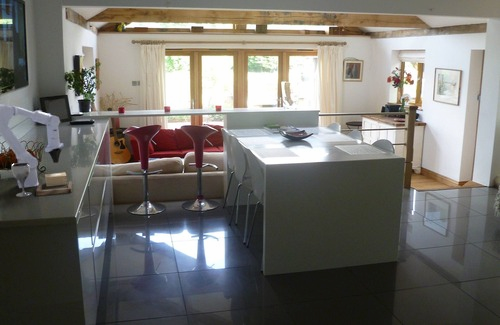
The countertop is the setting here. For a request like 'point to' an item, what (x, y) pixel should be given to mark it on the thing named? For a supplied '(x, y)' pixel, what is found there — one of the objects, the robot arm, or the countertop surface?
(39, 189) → the cradle
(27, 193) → the wine glass
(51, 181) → the carton
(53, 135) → the robot arm
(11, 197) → the countertop surface
